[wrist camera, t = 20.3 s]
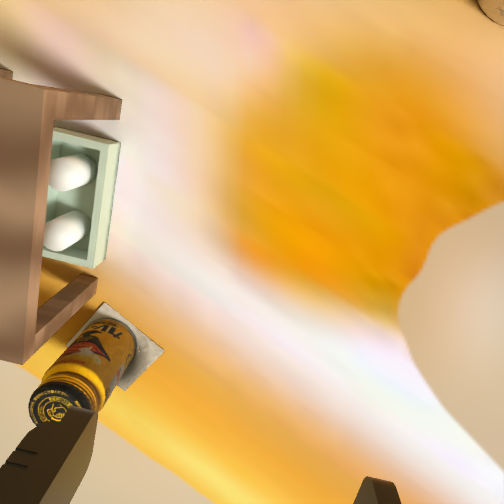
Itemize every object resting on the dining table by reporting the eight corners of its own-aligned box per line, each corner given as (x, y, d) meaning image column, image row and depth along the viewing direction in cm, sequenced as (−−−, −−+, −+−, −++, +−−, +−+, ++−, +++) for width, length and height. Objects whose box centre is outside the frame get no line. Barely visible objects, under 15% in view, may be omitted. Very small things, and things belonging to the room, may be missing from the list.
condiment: (105, 301, 44) (46, 364, 33) (165, 350, 46) (129, 426, 34) (66, 344, 46) (-2, 417, 35) (125, 389, 48) (79, 474, 36)
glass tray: (58, 127, 39) (28, 128, 34) (120, 142, 39) (99, 146, 34) (48, 244, 42) (19, 261, 38) (105, 258, 43) (83, 276, 38)
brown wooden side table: (-7, 66, 37) (-154, 38, 24) (122, 99, 38) (44, 89, 25) (-16, 266, 44) (-136, 327, 31) (95, 293, 44) (22, 364, 31)
